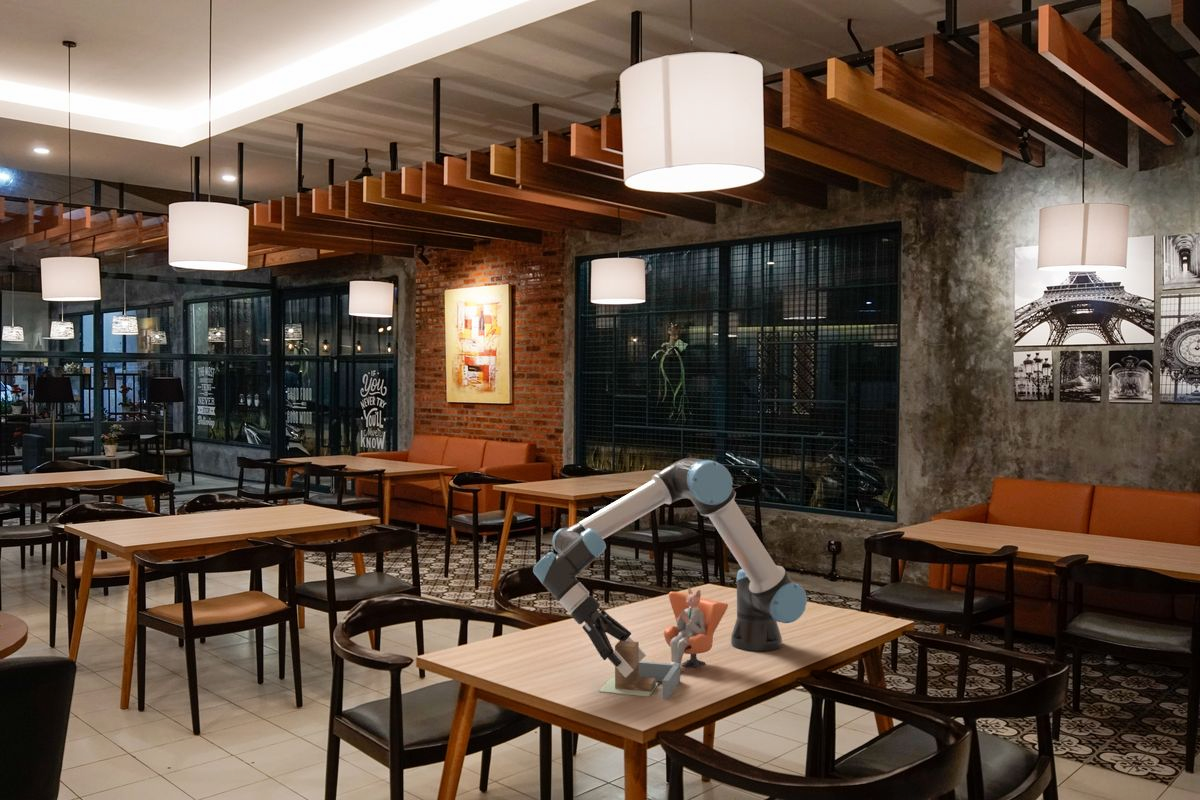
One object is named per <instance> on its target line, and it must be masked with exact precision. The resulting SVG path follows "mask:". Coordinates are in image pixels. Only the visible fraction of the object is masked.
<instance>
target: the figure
mask: <svg viewBox="0 0 1200 800" xmlns="http://www.w3.org/2000/svg"><path fill="white" fill-rule="evenodd" d="M687 589H688V593H684V592H679V591H670V592H669V593H668V600H669V603H670V606H671V608H672V611H673V615H674V617H675V621H676V625H670V626H667V627H665V629H664V630H663V636H664V637H663V638H664V639H665V642H666V644H667V645H668V646H669V647H670V654H671V656H670V657H671V658H670V659H671V660H670V661H671V662H670V664H680V670H681V669H682V667H689V666H693V668H694V669H700V668H701V666H702V665H703V666H704V665H706V662H705V661H703V660H701V659H698V658H697V655H698V654H703V653H707V652H709V651H710V650H711V649H712V647H713V639H714V634H715V632H716V630H717V628H718V626H719V624H720V622H721V620H722V619H723V617H724V616H725V614H726V612H727V610H728V605H729V604H728V603H727V602H721V601H716V600H712V599H707V598H705V597H702V596H701V595H702V593H701V589H699V590H696V592H695V593H693V591H692V589H691V587H688V588H687ZM684 654H685V655H686V654H687V655H690V658H689V659H686V661H684V662H682V660H683V657H684Z"/></svg>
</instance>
